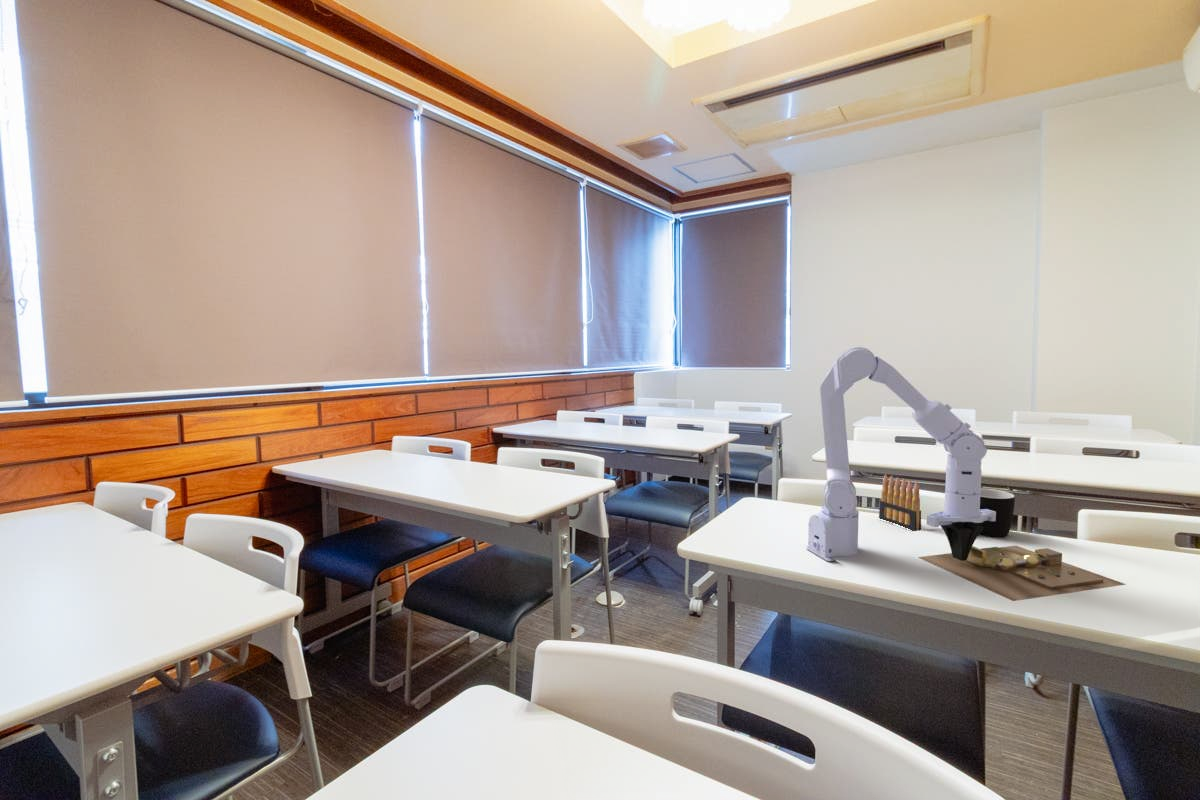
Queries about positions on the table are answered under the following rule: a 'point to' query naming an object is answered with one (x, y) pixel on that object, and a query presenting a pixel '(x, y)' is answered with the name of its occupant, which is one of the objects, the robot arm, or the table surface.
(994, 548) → the leaf
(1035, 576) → the hinge base
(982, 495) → the mug
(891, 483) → the ammunition clip
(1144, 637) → the table surface
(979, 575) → the plank
